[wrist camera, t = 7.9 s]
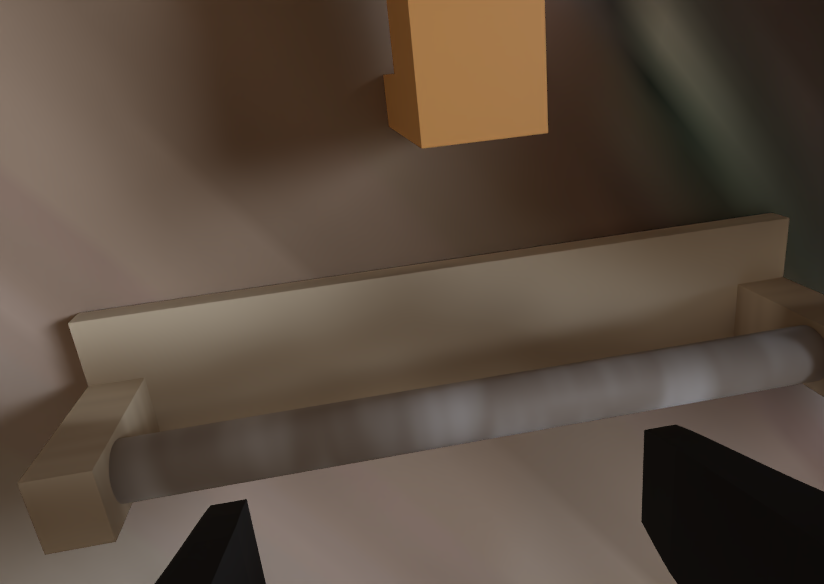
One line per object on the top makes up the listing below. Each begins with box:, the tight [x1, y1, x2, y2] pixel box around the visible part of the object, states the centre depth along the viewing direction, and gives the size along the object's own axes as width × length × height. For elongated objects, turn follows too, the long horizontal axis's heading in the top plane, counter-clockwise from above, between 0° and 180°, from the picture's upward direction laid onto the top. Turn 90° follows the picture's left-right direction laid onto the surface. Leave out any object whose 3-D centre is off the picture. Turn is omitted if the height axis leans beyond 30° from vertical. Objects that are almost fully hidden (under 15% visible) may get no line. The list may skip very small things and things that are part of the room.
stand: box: [17, 213, 824, 555], centre depth 18 cm, size 6×22×5 cm, turn 96°
